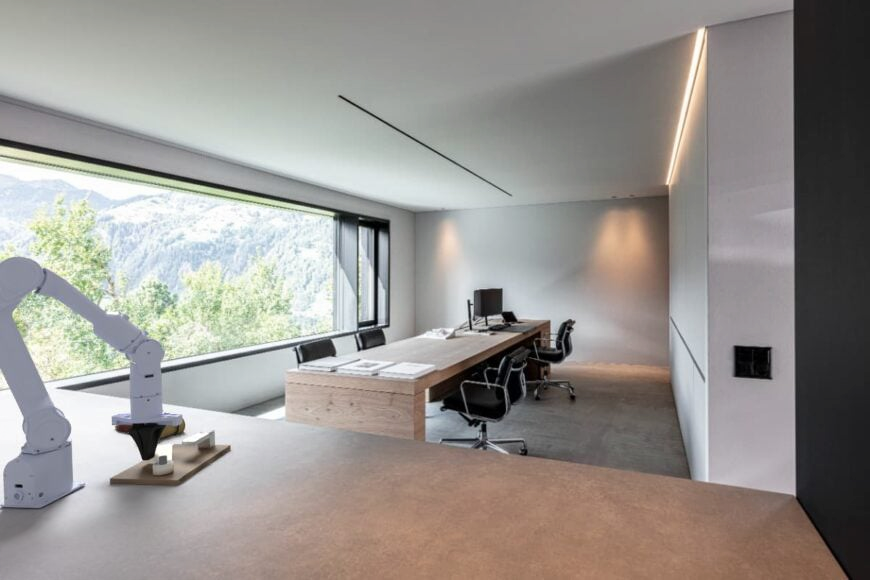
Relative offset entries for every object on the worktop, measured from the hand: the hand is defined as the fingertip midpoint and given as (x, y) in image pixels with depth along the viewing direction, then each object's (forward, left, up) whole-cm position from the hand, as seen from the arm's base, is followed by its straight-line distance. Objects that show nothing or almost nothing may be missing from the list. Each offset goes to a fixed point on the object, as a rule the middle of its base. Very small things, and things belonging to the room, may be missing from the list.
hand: (148, 458), depth 97 cm
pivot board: (+2, -5, -2) cm, 5 cm away
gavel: (+22, +19, -3) cm, 29 cm away
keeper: (+7, -7, -1) cm, 10 cm away
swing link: (0, -4, -1) cm, 4 cm away
